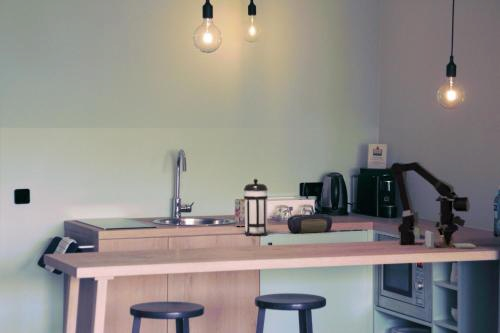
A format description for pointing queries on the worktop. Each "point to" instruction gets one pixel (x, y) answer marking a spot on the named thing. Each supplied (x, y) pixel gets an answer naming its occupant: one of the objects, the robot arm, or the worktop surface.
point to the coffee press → (255, 208)
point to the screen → (429, 239)
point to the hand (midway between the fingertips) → (446, 244)
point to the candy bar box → (239, 210)
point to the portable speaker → (310, 223)
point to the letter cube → (443, 243)
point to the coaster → (463, 245)
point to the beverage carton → (416, 232)
